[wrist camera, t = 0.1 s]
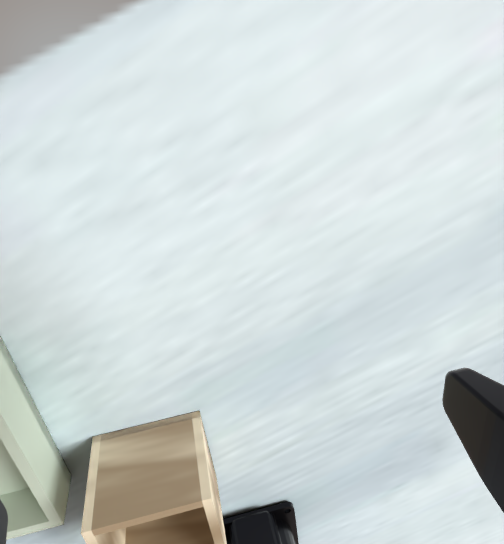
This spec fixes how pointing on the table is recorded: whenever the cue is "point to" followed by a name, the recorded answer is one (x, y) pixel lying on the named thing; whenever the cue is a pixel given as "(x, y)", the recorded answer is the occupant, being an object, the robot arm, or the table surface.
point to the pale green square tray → (28, 459)
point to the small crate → (153, 486)
